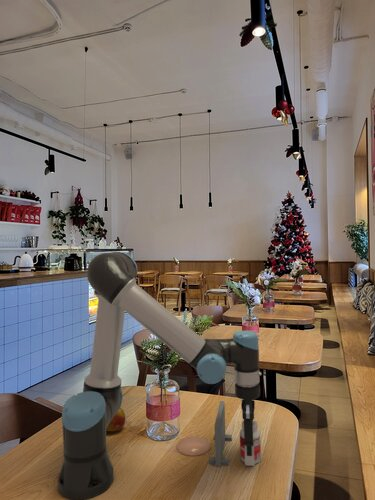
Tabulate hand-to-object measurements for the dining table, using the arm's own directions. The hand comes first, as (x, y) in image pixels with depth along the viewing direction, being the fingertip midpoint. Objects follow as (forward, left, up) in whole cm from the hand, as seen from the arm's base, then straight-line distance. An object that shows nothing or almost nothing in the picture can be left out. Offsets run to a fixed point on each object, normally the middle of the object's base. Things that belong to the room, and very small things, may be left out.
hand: (250, 458), depth 115 cm
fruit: (+13, +49, -1) cm, 51 cm away
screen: (+4, +9, 0) cm, 10 cm away
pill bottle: (0, 0, -1) cm, 1 cm away
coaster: (+5, +18, 0) cm, 19 cm away
